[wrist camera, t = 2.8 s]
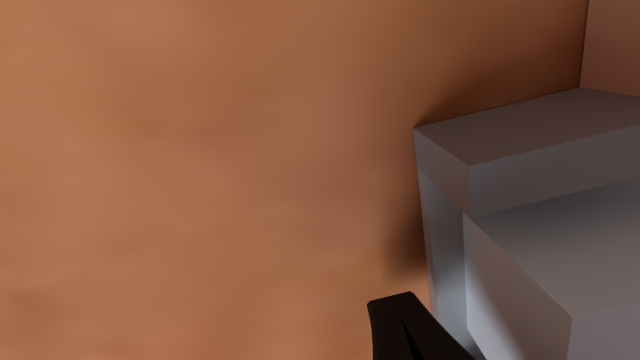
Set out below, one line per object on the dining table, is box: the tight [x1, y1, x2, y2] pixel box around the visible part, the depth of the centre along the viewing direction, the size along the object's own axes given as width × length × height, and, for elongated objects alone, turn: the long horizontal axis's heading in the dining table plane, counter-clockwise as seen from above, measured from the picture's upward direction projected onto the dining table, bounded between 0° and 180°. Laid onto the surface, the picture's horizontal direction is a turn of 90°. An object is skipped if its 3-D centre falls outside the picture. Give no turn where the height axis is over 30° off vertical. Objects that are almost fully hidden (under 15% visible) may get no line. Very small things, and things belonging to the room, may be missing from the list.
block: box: [462, 177, 640, 360], centre depth 9 cm, size 5×5×4 cm
